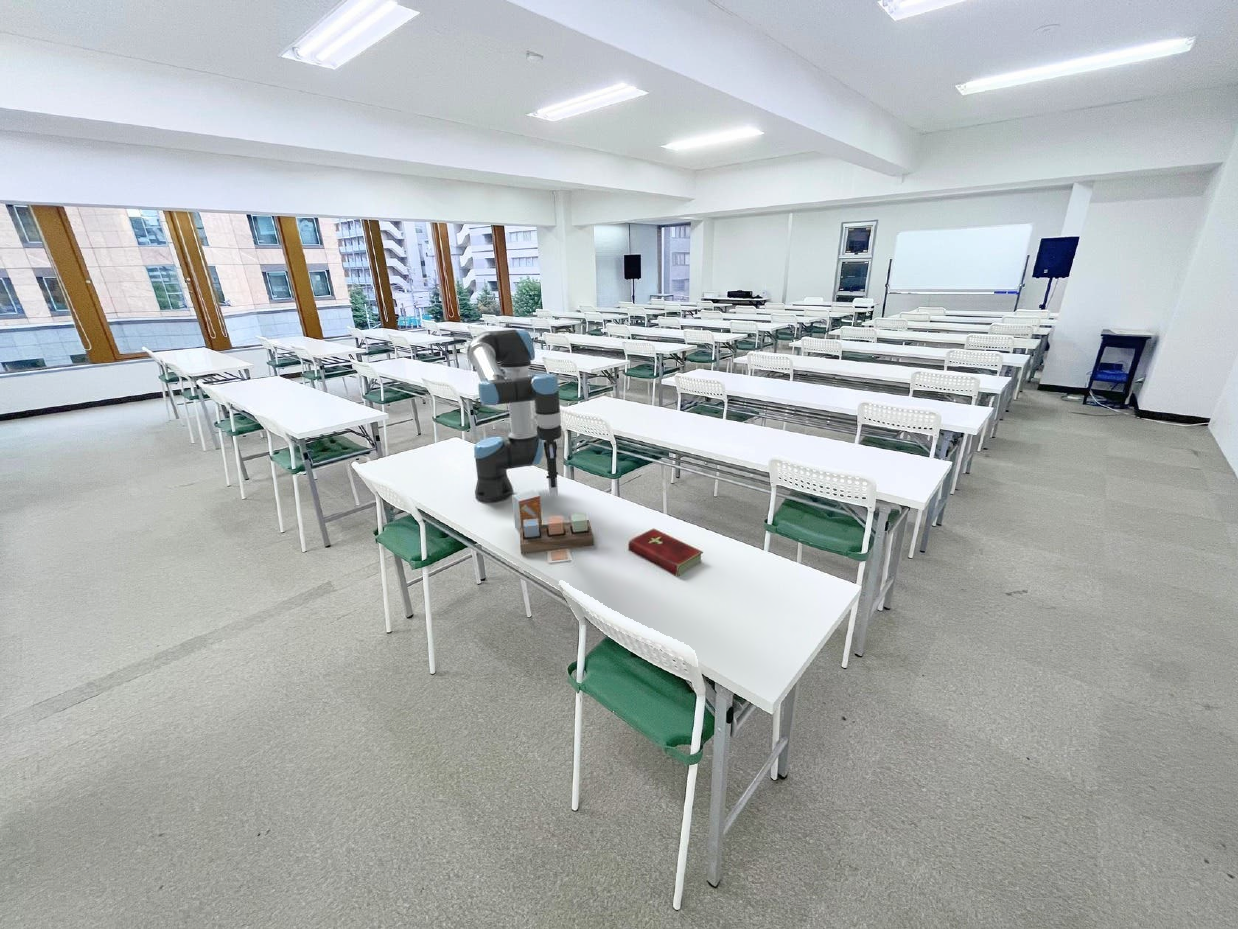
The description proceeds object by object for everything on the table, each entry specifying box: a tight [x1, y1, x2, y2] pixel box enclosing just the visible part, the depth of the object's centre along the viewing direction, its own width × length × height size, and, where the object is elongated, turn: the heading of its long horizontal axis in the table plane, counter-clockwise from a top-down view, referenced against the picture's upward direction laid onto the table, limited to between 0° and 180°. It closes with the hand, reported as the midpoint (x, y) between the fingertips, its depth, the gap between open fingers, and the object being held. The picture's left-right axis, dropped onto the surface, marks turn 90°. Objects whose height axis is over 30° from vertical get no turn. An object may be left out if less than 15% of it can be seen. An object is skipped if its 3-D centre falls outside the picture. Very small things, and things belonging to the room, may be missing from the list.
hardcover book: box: [627, 528, 704, 578], centre depth 158 cm, size 12×21×4 cm, turn 43°
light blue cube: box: [523, 518, 539, 537], centre depth 165 cm, size 5×5×5 cm
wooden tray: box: [519, 519, 595, 555], centre depth 167 cm, size 12×24×4 cm, turn 101°
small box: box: [511, 489, 543, 533], centre depth 174 cm, size 8×6×13 cm
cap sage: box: [570, 513, 588, 532], centre depth 167 cm, size 5×5×5 cm
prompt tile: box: [546, 549, 572, 564], centre depth 159 cm, size 7×7×1 cm
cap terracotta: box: [547, 515, 564, 535], centre depth 166 cm, size 5×5×5 cm
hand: (553, 494), depth 161 cm, fingers closed
